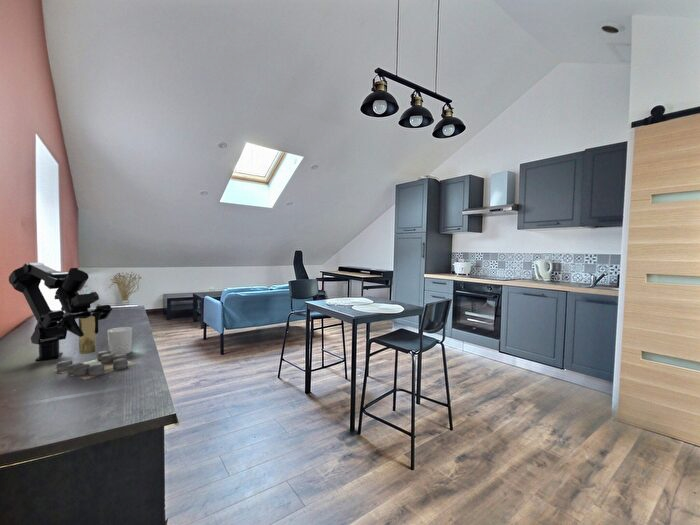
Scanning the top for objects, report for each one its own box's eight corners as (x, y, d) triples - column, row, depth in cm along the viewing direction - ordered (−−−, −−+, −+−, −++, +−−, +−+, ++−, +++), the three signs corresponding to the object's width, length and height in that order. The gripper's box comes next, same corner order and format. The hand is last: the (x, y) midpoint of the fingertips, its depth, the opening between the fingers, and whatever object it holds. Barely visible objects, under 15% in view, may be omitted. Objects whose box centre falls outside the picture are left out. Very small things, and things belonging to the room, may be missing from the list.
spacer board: (53, 372, 107) (53, 363, 107) (106, 358, 122) (106, 349, 122) (86, 382, 100) (86, 371, 100) (139, 365, 114) (138, 356, 114)
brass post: (80, 351, 114) (80, 316, 113) (96, 349, 116) (96, 315, 116) (77, 354, 110) (77, 319, 110) (94, 352, 112) (93, 318, 112)
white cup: (119, 358, 122) (119, 332, 122) (102, 357, 124) (101, 331, 123) (137, 352, 130) (137, 327, 130) (120, 351, 131) (120, 326, 131)
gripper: (46, 287, 105) (65, 325, 101) (108, 283, 122) (127, 314, 118) (34, 310, 109) (52, 347, 105) (96, 302, 126) (114, 333, 122)
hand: (89, 334), depth 112 cm, fingers closed on brass post, 4 cm apart
